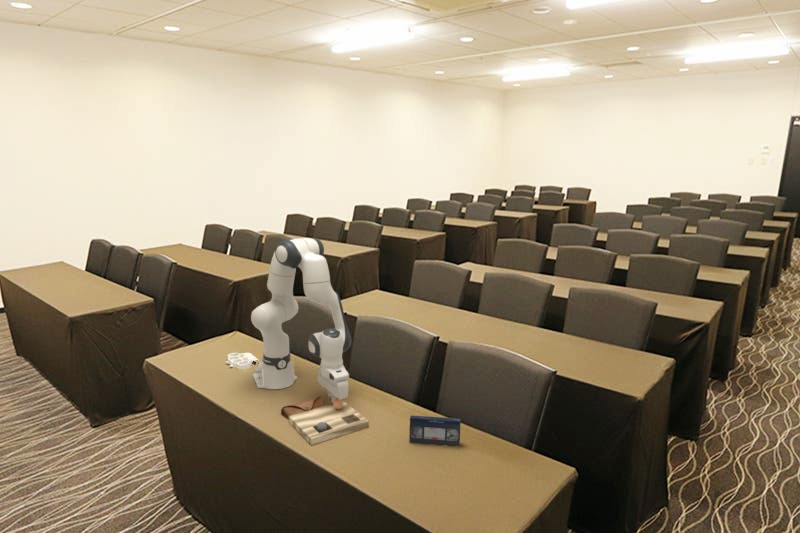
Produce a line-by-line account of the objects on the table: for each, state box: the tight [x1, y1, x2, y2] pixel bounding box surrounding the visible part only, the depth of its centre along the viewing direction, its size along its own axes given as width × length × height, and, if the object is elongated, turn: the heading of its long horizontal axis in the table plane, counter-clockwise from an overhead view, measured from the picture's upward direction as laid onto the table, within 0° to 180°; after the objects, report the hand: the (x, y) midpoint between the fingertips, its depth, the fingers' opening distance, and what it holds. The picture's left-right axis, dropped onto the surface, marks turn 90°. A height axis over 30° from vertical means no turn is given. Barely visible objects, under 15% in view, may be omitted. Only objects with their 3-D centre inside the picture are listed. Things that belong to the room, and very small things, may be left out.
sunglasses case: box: [280, 396, 326, 421], centre depth 209 cm, size 18×7×7 cm, turn 128°
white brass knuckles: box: [224, 352, 261, 369], centre depth 256 cm, size 3×18×15 cm
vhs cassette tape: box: [408, 415, 462, 447], centre depth 187 cm, size 18×3×10 cm, turn 82°
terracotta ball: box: [332, 398, 344, 409], centre depth 207 cm, size 4×4×4 cm
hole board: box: [288, 400, 370, 446], centre depth 199 cm, size 20×24×2 cm
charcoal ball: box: [316, 422, 327, 433], centre depth 193 cm, size 4×4×4 cm
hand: (332, 400), depth 211 cm, fingers closed
